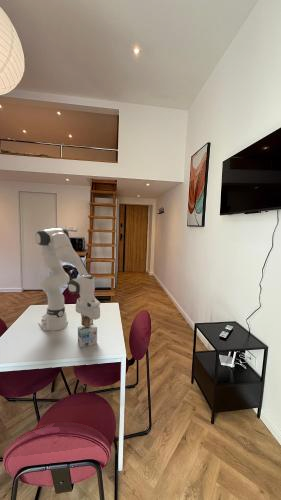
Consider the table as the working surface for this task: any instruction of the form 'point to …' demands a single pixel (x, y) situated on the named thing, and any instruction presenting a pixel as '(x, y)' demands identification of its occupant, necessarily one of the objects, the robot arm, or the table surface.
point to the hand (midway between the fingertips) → (87, 322)
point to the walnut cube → (86, 321)
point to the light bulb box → (87, 335)
